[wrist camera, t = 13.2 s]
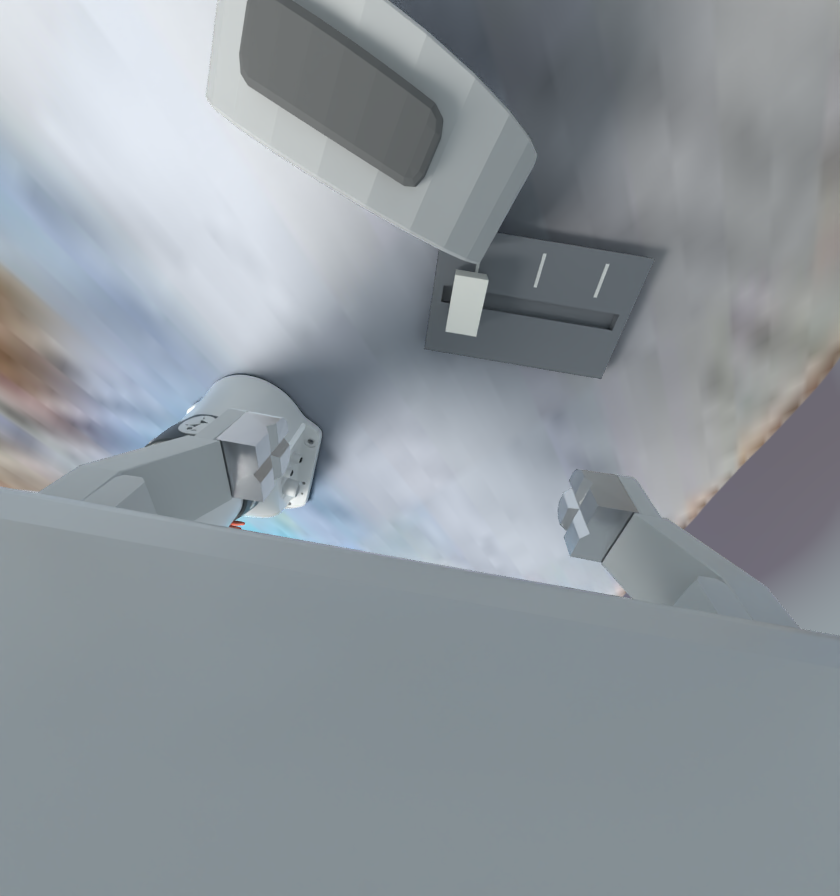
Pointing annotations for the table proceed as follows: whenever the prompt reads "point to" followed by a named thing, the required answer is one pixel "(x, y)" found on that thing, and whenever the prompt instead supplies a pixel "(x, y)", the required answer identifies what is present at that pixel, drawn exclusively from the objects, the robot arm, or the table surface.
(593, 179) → the table surface
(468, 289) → the fader knob
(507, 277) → the fader deck
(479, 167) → the alarm clock
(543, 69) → the table surface
